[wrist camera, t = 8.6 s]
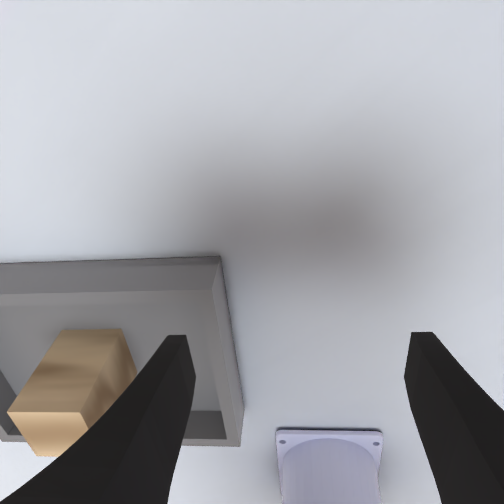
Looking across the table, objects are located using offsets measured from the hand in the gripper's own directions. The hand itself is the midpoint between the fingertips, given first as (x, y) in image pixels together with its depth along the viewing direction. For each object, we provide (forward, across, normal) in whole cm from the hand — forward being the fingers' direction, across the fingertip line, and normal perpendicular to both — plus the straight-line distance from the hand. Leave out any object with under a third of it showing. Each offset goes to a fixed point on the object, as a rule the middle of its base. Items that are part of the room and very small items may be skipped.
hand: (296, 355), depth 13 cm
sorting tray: (+9, +13, +9) cm, 18 cm away
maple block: (+9, +13, +9) cm, 18 cm away
